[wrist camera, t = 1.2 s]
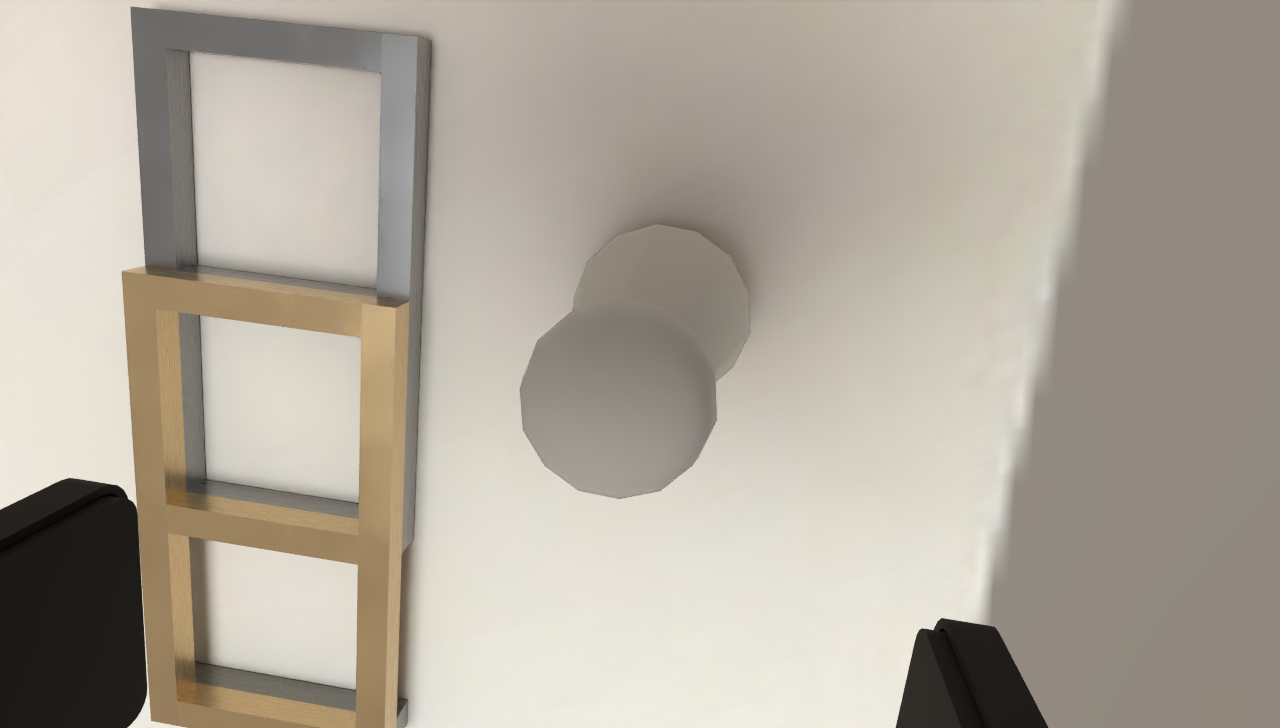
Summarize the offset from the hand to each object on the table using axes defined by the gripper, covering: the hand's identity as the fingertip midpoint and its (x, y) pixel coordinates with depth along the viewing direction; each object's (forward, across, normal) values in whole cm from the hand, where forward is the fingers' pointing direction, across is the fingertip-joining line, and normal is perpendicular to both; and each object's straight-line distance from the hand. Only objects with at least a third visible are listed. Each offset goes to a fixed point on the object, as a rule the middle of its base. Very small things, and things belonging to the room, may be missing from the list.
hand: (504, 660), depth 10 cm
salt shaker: (+21, 0, -1) cm, 21 cm away
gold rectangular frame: (+21, +14, +10) cm, 27 cm away
